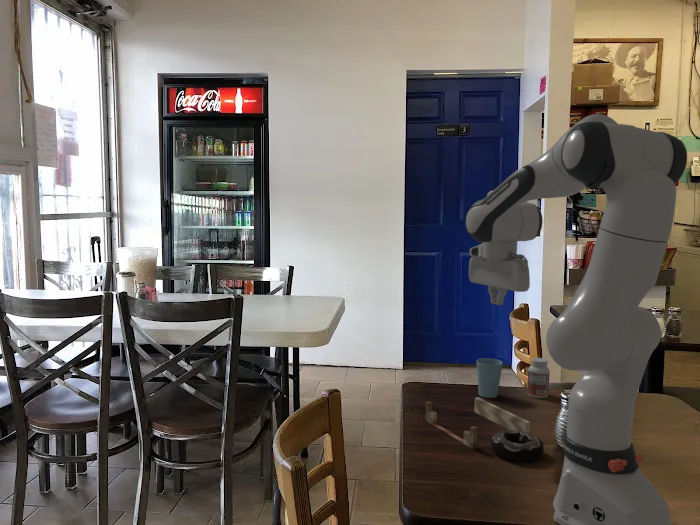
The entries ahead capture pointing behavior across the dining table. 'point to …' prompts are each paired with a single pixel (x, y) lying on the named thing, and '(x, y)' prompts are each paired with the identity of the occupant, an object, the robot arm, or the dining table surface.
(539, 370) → the pill bottle
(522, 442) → the donut
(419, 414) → the dining table surface
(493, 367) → the cup
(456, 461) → the dining table surface
